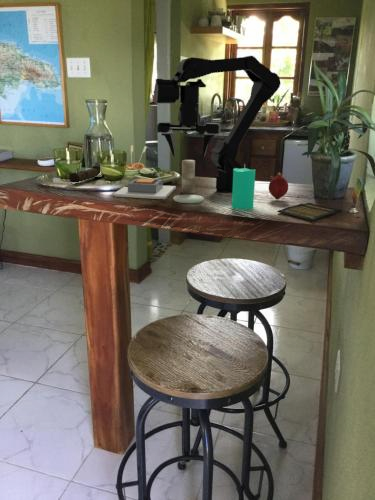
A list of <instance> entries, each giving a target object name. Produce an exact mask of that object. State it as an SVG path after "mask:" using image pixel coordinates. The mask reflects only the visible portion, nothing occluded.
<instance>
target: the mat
mask: <svg viewBox="0 0 375 500" xmlns="http://www.w3.org/2000/svg"><path fill="white" fill-rule="evenodd" d="M173 201H174V202H176V203H180V204H198V203H203V202H204V201H205V197H204V196H203V195H202V196H201V195H199V194H198V195H197V194H177V195H174V196H173Z"/></svg>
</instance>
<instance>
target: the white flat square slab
mask: <svg viewBox="0 0 375 500" xmlns="http://www.w3.org/2000/svg"><path fill="white" fill-rule="evenodd" d="M139 179H140V178H134V179H132V180H131V181H129V182H128V183H127V185H128V187H125V186H123V187H122V188H119V190H117V191H115V192H113V194H112V196H113V197H116V198H117V197H118V198H136V199H137V198H138V199H151V200H153V199H156V200H166V199H167V198H168V197H169V196H170V195H171V194H172V193H173V192H174V191H175V190H176V188H177V186H176V185H164V179H156V178H155V183H154V184H141V183H136V181H137V180H139Z"/></svg>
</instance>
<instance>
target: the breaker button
mask: <svg viewBox="0 0 375 500" xmlns="http://www.w3.org/2000/svg"><path fill="white" fill-rule="evenodd" d="M138 179H139V180H137V181H136V183H141V184H154V183H155V179H156V178H155V179H154V178H138Z"/></svg>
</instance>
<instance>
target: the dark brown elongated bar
mask: <svg viewBox="0 0 375 500" xmlns="http://www.w3.org/2000/svg"><path fill="white" fill-rule="evenodd" d="M100 164H101V163H100ZM100 164H96V165H92V168H89V169H86V170H83V171H82V170H81V171H77V172H71V173H69V175H68V181H69V182H70V181H71V182H79V181H81V182H84V181H87V180H86V179H88V180H91V179H94V178H93V177H95V176H97V175H98V174H99V173H100ZM90 178H91V179H90ZM83 180H84V181H83Z"/></svg>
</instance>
